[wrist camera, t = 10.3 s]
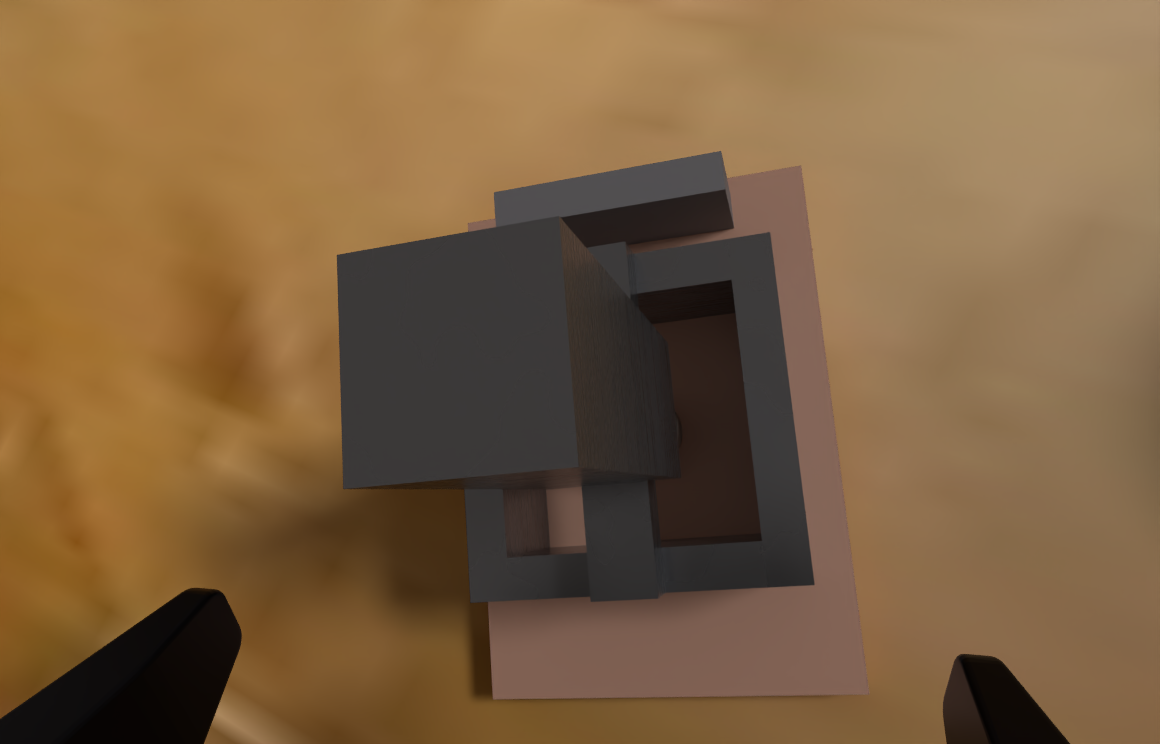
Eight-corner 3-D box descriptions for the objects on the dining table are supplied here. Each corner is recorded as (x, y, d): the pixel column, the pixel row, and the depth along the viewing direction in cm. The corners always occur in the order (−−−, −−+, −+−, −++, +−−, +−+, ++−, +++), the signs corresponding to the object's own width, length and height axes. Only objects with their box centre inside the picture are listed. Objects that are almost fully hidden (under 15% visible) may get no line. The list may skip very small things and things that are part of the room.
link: (811, 569, 20) (838, 695, 8) (518, 585, 22) (171, 707, 10) (774, 271, 22) (747, -23, 9) (501, 312, 24) (175, 114, 11)
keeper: (865, 685, 20) (882, 729, 17) (505, 690, 23) (447, 730, 19) (800, 178, 23) (801, 116, 19) (480, 233, 25) (424, 187, 21)
